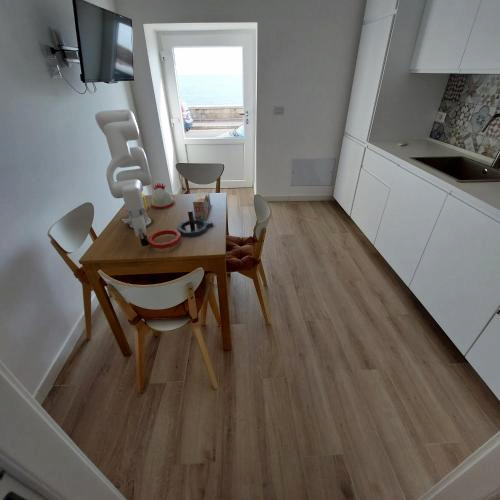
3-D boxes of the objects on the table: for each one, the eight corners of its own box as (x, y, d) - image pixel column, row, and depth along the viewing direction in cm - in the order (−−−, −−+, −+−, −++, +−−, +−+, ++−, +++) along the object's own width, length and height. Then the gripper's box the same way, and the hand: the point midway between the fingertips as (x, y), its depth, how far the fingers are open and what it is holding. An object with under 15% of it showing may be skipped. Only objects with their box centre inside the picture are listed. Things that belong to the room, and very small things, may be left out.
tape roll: (148, 206, 182) (145, 192, 177) (146, 212, 174) (142, 198, 168) (133, 207, 181) (129, 194, 175) (130, 214, 172) (126, 200, 167)
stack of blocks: (201, 205, 181) (199, 187, 174) (210, 205, 181) (208, 187, 174) (195, 220, 163) (192, 201, 156) (205, 220, 163) (203, 201, 156)
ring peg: (187, 234, 150) (183, 215, 143) (184, 227, 156) (181, 209, 150) (201, 231, 152) (198, 212, 146) (198, 225, 158) (196, 206, 152)
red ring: (142, 253, 131) (141, 248, 130) (141, 237, 144) (140, 233, 142) (182, 244, 136) (182, 240, 135) (178, 230, 149) (177, 226, 148)
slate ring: (209, 219, 163) (209, 216, 162) (215, 232, 151) (215, 228, 150) (177, 225, 158) (176, 222, 157) (180, 238, 146) (180, 235, 144)
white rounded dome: (170, 208, 177) (165, 186, 169) (149, 208, 178) (143, 187, 170) (175, 200, 189) (171, 179, 181) (156, 200, 190) (151, 179, 181)
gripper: (127, 206, 133) (137, 238, 143) (127, 219, 121) (137, 254, 131) (143, 203, 135) (152, 235, 145) (145, 217, 123) (153, 250, 133)
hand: (145, 244), depth 138 cm, fingers closed on red ring, 2 cm apart
